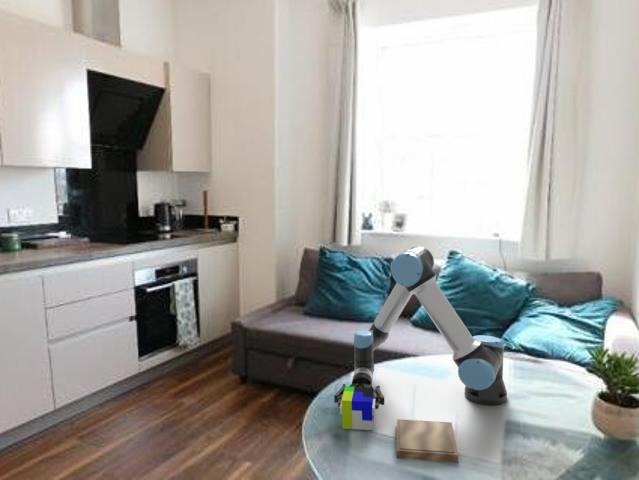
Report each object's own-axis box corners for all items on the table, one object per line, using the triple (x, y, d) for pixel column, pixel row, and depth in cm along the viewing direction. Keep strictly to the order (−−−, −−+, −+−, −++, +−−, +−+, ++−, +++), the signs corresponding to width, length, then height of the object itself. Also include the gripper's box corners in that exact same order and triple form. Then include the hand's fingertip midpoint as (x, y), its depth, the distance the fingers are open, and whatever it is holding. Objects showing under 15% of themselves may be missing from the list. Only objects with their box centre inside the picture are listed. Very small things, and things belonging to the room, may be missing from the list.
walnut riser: (451, 429, 159) (451, 421, 158) (458, 462, 141) (458, 454, 141) (396, 426, 162) (396, 418, 161) (396, 458, 144) (396, 449, 144)
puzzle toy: (372, 430, 158) (371, 401, 157) (342, 428, 160) (341, 400, 158) (374, 414, 168) (373, 387, 166) (345, 413, 170) (345, 386, 168)
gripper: (392, 391, 179) (391, 423, 158) (332, 389, 183) (323, 419, 161) (392, 373, 178) (391, 402, 156) (332, 370, 182) (323, 399, 160)
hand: (357, 411), depth 159 cm, fingers closed on puzzle toy, 10 cm apart
